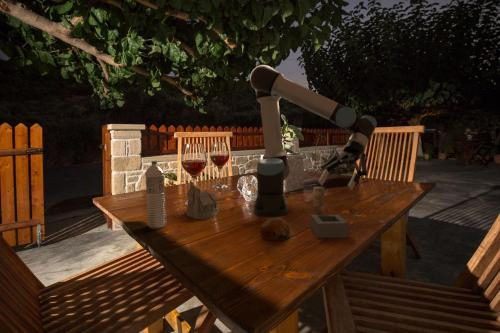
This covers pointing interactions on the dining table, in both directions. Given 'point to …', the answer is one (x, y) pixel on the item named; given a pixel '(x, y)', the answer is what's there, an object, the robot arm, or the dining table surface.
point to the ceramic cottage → (201, 203)
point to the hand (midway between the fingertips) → (334, 185)
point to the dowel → (318, 201)
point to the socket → (329, 226)
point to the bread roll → (275, 229)
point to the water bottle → (155, 196)
